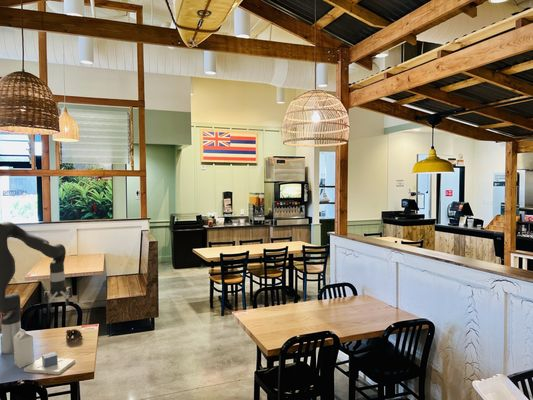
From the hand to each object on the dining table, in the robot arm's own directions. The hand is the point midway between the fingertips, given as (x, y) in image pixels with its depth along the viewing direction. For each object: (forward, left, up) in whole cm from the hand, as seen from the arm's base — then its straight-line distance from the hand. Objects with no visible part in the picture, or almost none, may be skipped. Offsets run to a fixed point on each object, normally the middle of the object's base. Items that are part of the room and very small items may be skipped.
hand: (58, 306), depth 220 cm
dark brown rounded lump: (-1, +13, -26) cm, 30 cm away
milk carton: (-9, -16, -26) cm, 32 cm away
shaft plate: (+7, -18, -26) cm, 32 cm away
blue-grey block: (+7, -18, -24) cm, 31 cm away
